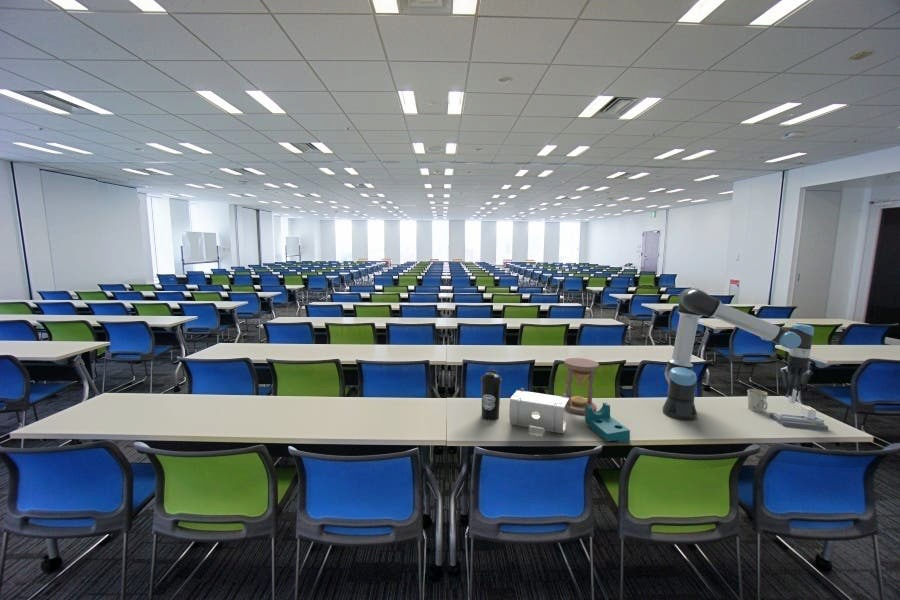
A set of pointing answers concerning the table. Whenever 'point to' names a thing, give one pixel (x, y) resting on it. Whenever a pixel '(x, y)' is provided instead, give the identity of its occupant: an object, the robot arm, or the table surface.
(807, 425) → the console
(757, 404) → the mug
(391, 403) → the table surface
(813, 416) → the fader tab
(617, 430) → the teal l-shaped bracket
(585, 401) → the hourglass
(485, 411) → the water bottle
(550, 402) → the portable electronic device stand
